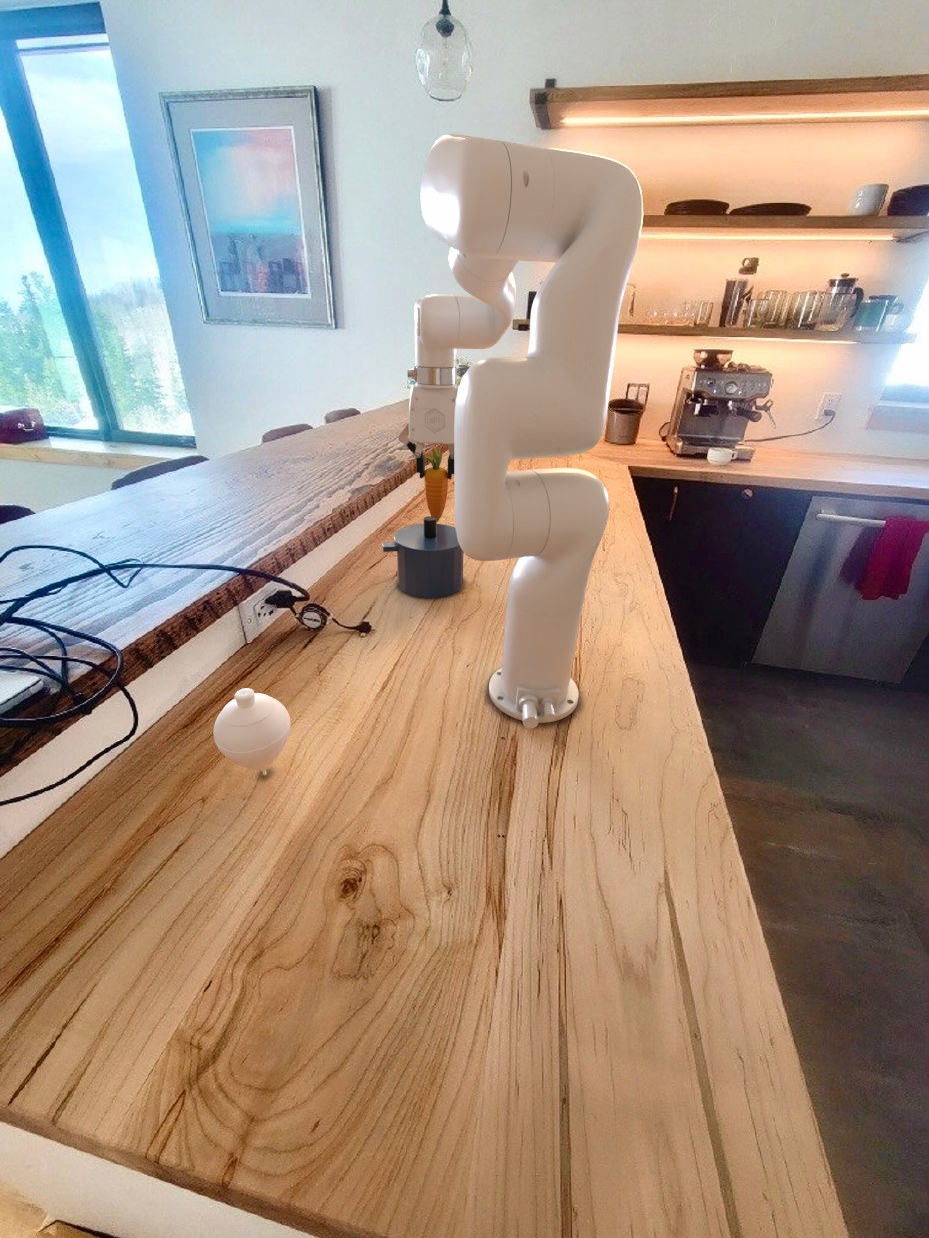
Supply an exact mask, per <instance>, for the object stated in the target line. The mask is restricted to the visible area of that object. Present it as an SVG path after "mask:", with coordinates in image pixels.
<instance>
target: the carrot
mask: <svg viewBox="0 0 929 1238" xmlns="http://www.w3.org/2000/svg"><path fill="white" fill-rule="evenodd" d="M431 452H432V454H433V457H431V456H429V455H424V456H425V460H427V461H428V462H429V463H430V464H431V466H430V467H427V468H425V472H424V478H423V479H424V481H423V482H424V483H423V484H424V494H425V500H426V505H427V509H428V511H429V515H430V516H433V517H436V518H437V523H438V522H439V521H440V519H441V517H442V516H443V513H444V511H445V507H446V504H447V498H448V488H449V479H448V470H446V468H444V467H441V463H442V461H443V453H442V451H439V453H438V451H437V448H436V447H433V448H431Z"/></svg>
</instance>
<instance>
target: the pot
mask: <svg viewBox="0 0 929 1238" xmlns="http://www.w3.org/2000/svg"><path fill="white" fill-rule="evenodd" d="M381 547H382V551H383V553H391V552H396V560H397V562H396V563H397V581H398V587H399V589H400V590H401V591H402V592H404V593H405V594H407V595H409V596H412V597H416V598H420V599H421V598H422V599H440V598H445V597H448V596H451V595H454V594H456V593H457V592H458V591H460V590H461V588H462V586H463V582H464V555H465V553H464V552H463V550H462V549H461V547H459V548H457V549H454V550H451V551H446V552H439V553H423V552H415V551H410V550H407V549H404V548H402V547H400V546H398V545H397V544H396V543H395V541H383V542H382V543H381Z"/></svg>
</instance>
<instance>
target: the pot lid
mask: <svg viewBox="0 0 929 1238" xmlns="http://www.w3.org/2000/svg"><path fill="white" fill-rule="evenodd" d="M393 542H395V543H396V544H397V545H398V546H400V547H402V548H404V549H407V550H410V551H415V552H423V553H439V552H446V551H451V550H454V549H457V548H459V547H460V545H459V542H458V539H457V534H456V528H455V526H451V525H448V524H444V523H443V524H442V523H438V522H437V518H436V517H433V516H431V515H430V516H429V515H427V516H424V517H423V523H418V524H412V525H411V524H410V525H407V526H405V527H402V528H400V529H399V530H397V531H396V532H395V533H394V534H393Z"/></svg>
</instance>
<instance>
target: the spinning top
mask: <svg viewBox="0 0 929 1238" xmlns="http://www.w3.org/2000/svg"><path fill="white" fill-rule="evenodd" d="M290 732H291V717H290V714H289V712H288V710H287V709H286V707H285V706H284V705H283V703H282V702H281V701H279V700H278V699H276V698H274V697H272V696H269V695H268V694H265V693H261V692H260V693H259V692H255V690H254V689H252V688H250V687H244V688H241V689H239V690H237V691H236V692H235V693H234V695H233V699H231V700H230V701H229V702H227V704H226V705H225V706H224V707H223V708H222V710H221V711H220V712H219V714H218V715H217V717H216V719H215V722H214V725H213V732H212V733H213V740H214V744H215V745H216V747H217V749H218V751H219V752H220V753H221V754H222V755H223V756H225V757H226V758H227V759H228V760H229V761H231V762H233V763H235V764H236V765H238V766H241V767H244V768H247V769H250V770H253V771H259V772H262V775H263V776H266V775H267V770H268V769H269V768H270V767H271V766H272V764H273V763H274V762H276V760H277V758H278V757H279V755H280V754H281V752H282V751H283V749H284V747H285V746H286V743H287V741H288V739H289V736H290Z"/></svg>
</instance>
